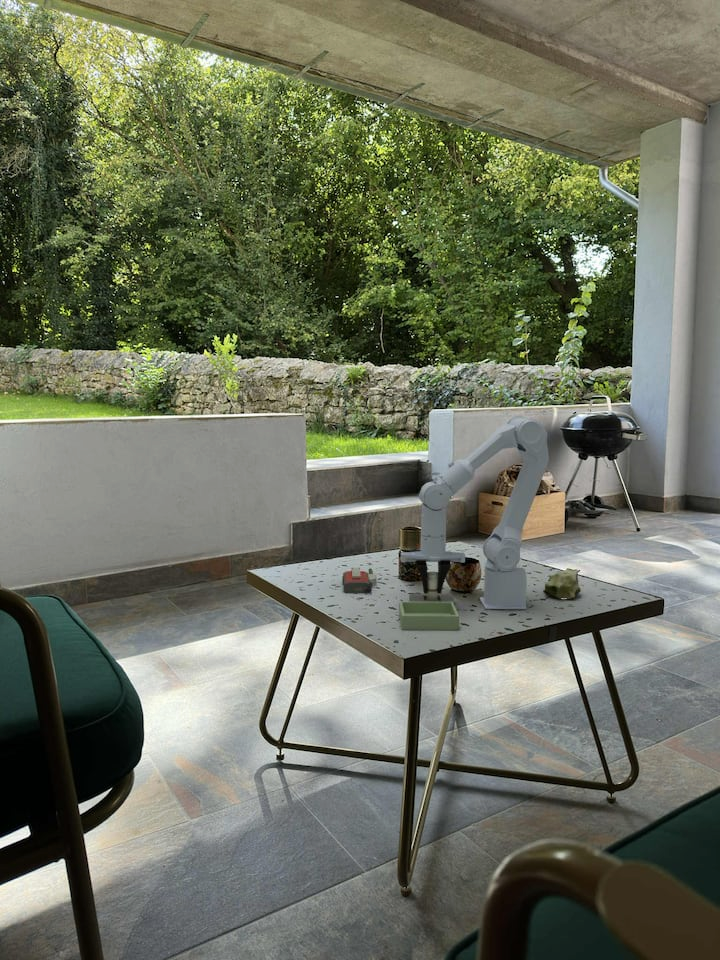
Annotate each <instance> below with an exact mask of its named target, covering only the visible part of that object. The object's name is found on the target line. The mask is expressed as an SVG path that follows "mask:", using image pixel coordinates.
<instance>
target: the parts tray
mask: <svg viewBox="0 0 720 960" xmlns="http://www.w3.org/2000/svg"><path fill="white" fill-rule="evenodd" d="M398 616H399V620H400V621H399V622H400V627H401V630H402V631H421V630H422V631H459V630H460V615H459V612H458V611H457V608H455V605H454V603H453V602H409V601H398Z"/></svg>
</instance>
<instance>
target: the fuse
mask: <svg viewBox="0 0 720 960" xmlns="http://www.w3.org/2000/svg"><path fill="white" fill-rule="evenodd" d="M438 576H439V573H438V571H427V593H426V594H427V599H426V601H438V594H439V593H438Z"/></svg>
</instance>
